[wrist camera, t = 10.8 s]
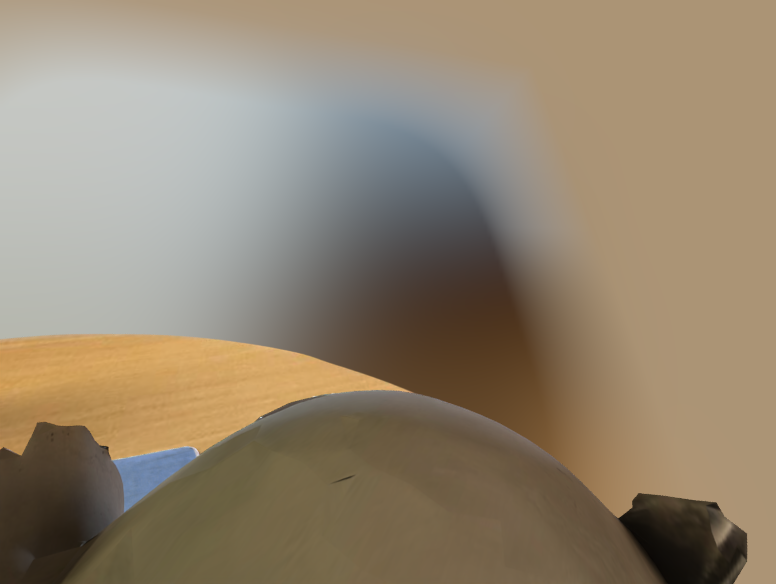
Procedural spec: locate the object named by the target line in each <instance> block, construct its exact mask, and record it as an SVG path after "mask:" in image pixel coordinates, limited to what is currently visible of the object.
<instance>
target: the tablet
mask: <svg viewBox="0 0 776 584" xmlns="http://www.w3.org/2000/svg"><path fill="white" fill-rule="evenodd" d="M197 456H199V453H198V451H197V449H195V448H194V447H180V448H175V449H170V450H164V451H159V452H154V453H148V454H143V455H138V456H132V457H127V458H122V459H116V460H112V461H113V462H114V464H115V465H116V467H117V469H118V471H119V473H120V475H121V479H122V482H123V490H124V512H126V511H127V510H128V509H129V508H131V507H132V506H133V505H134V504H136V503H137V502H138V501H139V500H141V499H142V498H143V497H144V496H146V495H147V494H148V493H149V492H151V491H152V490H153V489H154V488H156V487H157V486H158V485H159V484H161V483H162V482H163V481H164V480H166V479H167V478H168V477H170V476H171V475H172V474H174V473H175V472H177V471H178V470H179V469H181V468H182V467H184V466H185V465H186V464H188V463H189V462H191V461H192V460H193V459H195V458H196V457H197Z"/></svg>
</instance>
